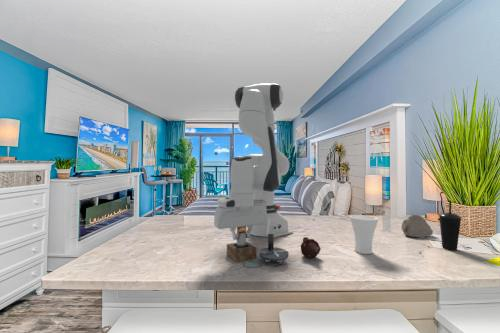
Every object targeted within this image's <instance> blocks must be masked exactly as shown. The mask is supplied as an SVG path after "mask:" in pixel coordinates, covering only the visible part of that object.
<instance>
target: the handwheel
mask: <svg viewBox="0 0 500 333" xmlns="http://www.w3.org/2000/svg"><path fill="white" fill-rule="evenodd" d="M274 239H275V237H274V234H268V237H267V247H265V248H262V249H260V250H259V257H260V258H261V259H263V260H272V261H280V260H282V261H285V260H287V259H288V258H289V256H290V255H289V251H288V250H287V249H284V248H280V247H274V246H275V245H274V242H275V240H274Z"/></svg>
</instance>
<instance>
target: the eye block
mask: <svg viewBox="0 0 500 333" xmlns="http://www.w3.org/2000/svg"><path fill="white" fill-rule="evenodd" d="M226 256H228V257H229V258H230V259H231V260H233V261H234V262H235V263H239V262H243V261H244V262H245V261H249V260H255V259H257V247H256V246H254V245H253V244H252V243H249V242H248V241H246V247H244V248H237V242H233V243H227V244H226Z"/></svg>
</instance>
